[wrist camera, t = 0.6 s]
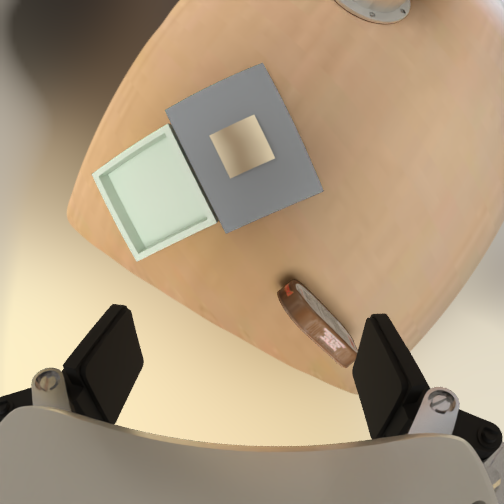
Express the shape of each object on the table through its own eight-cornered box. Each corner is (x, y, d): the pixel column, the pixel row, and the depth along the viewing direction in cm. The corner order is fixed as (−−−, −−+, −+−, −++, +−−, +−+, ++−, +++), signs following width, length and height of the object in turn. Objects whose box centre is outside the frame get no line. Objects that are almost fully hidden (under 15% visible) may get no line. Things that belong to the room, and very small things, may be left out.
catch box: (175, 125, 31) (167, 123, 29) (220, 216, 35) (216, 222, 32) (103, 171, 34) (91, 174, 31) (145, 253, 37) (136, 261, 35)
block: (254, 116, 28) (254, 114, 26) (274, 157, 29) (275, 158, 27) (212, 136, 29) (209, 135, 27) (232, 177, 30) (230, 178, 28)
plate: (262, 71, 29) (262, 62, 25) (317, 187, 33) (323, 191, 30) (174, 113, 31) (164, 110, 28) (229, 225, 36) (225, 233, 32)
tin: (274, 281, 38) (276, 315, 30) (292, 266, 37) (298, 297, 29) (338, 342, 41) (349, 380, 34) (354, 331, 41) (369, 367, 33)
